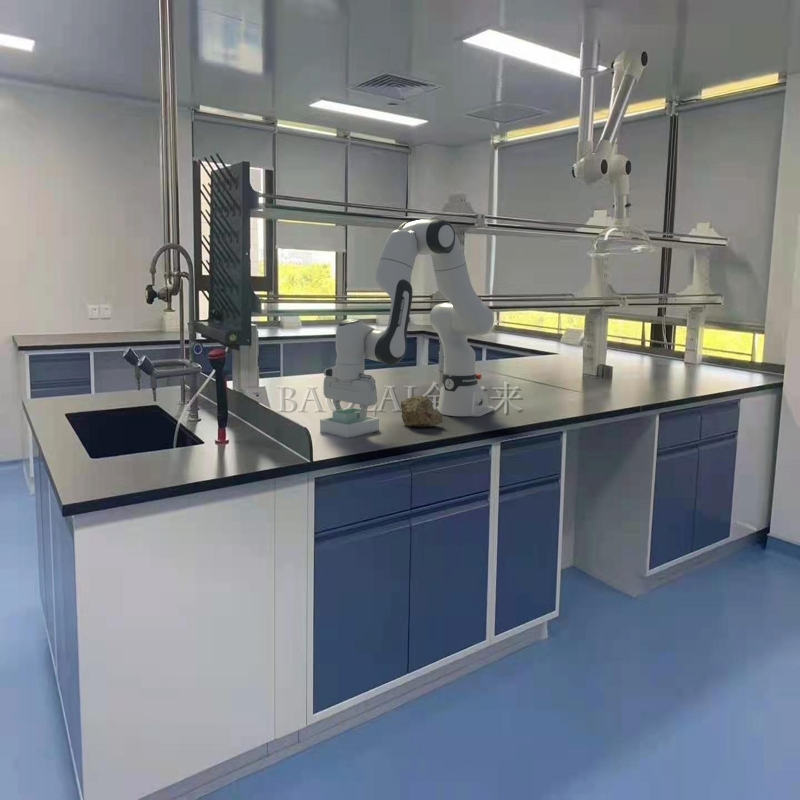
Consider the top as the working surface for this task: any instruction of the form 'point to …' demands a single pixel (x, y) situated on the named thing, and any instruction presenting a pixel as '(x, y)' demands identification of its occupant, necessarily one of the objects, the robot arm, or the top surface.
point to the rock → (419, 412)
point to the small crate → (348, 416)
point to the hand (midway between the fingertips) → (349, 416)
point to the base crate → (349, 427)
